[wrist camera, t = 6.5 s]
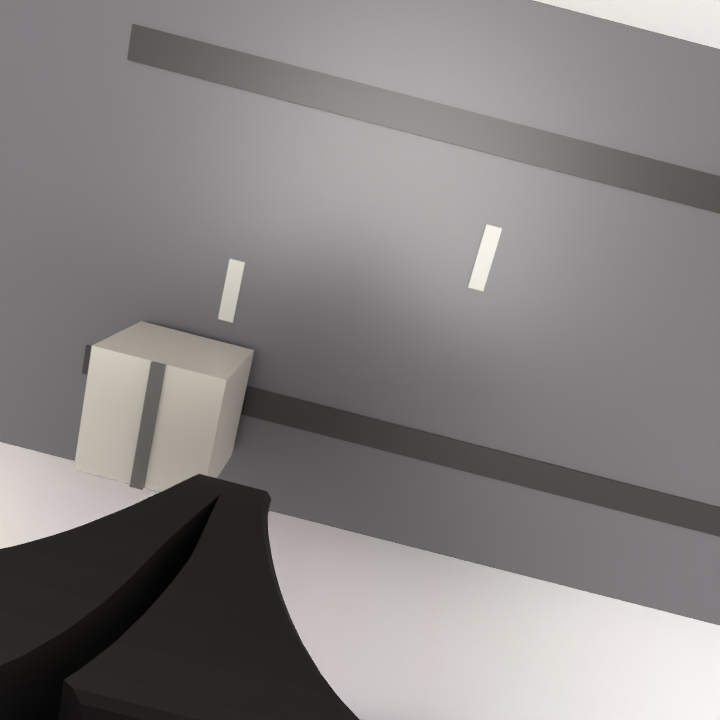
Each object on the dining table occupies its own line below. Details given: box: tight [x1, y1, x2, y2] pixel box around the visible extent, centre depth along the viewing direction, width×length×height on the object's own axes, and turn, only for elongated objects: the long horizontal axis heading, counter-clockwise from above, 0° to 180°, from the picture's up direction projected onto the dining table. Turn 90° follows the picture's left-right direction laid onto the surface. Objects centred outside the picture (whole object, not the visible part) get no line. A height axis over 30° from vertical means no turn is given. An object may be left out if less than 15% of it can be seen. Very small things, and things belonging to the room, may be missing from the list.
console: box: [0, 0, 720, 625], centre depth 17 cm, size 14×26×2 cm, turn 76°
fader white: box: [74, 321, 254, 492], centre depth 16 cm, size 3×3×3 cm
